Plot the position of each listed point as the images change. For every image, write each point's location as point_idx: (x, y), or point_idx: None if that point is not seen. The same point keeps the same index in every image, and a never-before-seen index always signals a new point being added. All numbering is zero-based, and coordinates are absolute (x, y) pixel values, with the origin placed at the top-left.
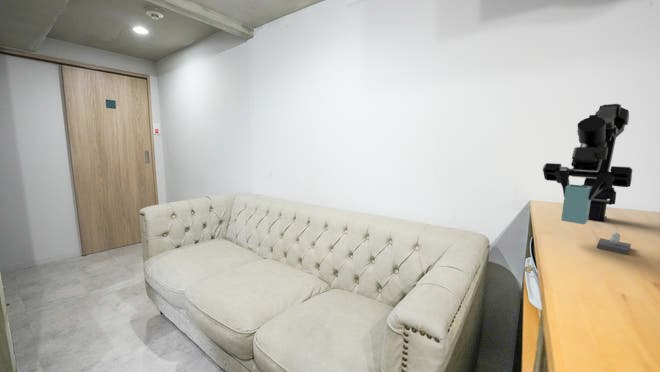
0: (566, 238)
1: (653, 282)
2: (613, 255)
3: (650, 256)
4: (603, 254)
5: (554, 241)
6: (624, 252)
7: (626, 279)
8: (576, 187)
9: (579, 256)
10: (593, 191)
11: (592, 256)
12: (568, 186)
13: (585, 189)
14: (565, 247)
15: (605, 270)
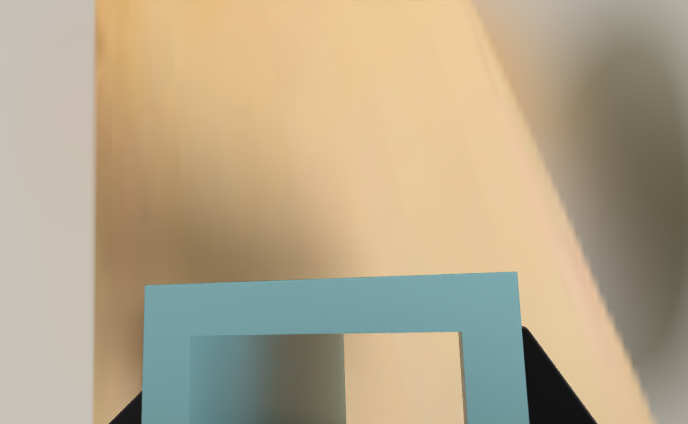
0: (459, 408)
1: (97, 52)
2: (222, 271)
3: (104, 395)
4: (257, 248)
5: None
6: None
7: (162, 2)
8: (337, 320)
9: (331, 120)
10: (137, 411)
11: (288, 172)
12: (483, 348)
13: (203, 284)
14: (415, 210)
15: (224, 32)
